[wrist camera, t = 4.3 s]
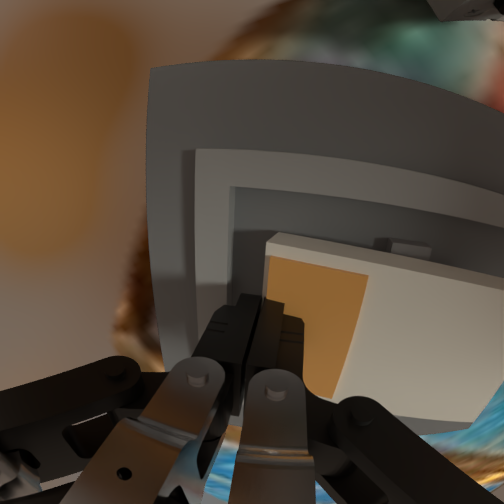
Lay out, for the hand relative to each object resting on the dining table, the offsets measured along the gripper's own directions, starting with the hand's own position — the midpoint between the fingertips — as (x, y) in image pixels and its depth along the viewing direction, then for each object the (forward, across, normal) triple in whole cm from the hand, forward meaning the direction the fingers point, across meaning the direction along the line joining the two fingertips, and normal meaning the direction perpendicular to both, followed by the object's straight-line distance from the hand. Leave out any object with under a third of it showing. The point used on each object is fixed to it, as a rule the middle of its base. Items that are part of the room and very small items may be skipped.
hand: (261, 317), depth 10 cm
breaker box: (+7, -5, 0) cm, 9 cm away
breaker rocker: (-1, -5, 0) cm, 5 cm away
